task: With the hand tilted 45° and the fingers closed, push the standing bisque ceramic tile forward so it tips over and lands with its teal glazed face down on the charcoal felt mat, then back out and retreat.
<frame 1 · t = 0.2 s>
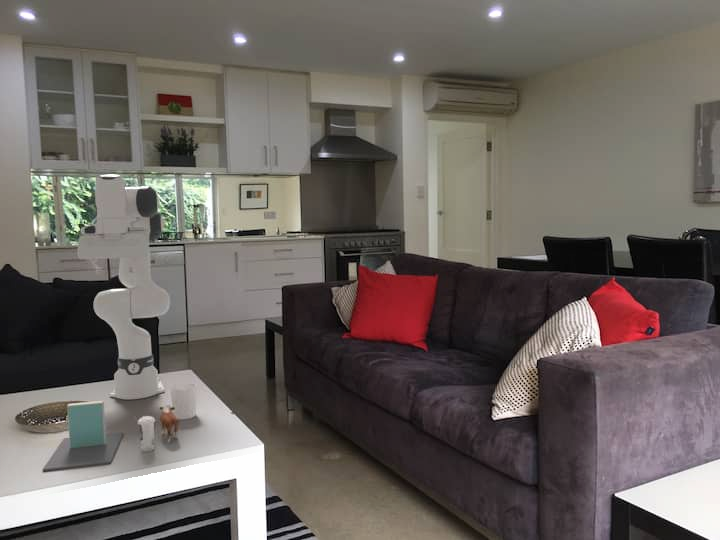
hand: (115, 273, 178), 47 cm above the table, tool pointing down, fingers open, 8 cm apart
tile: (88, 445, 162), point 1 cm above the table, touching mat
mat: (86, 451, 159), on the table
white cup: (185, 416, 186), on the table
milkshake: (146, 450, 159), on the table
bull figurine: (169, 436, 169), on the table
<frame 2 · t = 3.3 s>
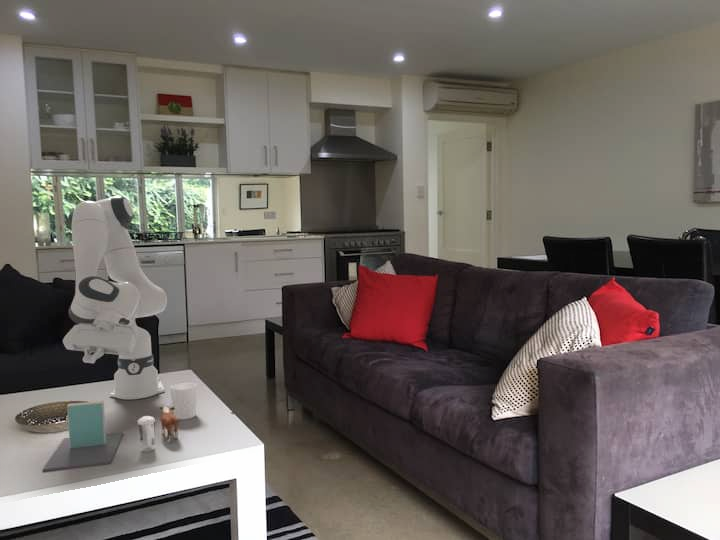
hand: (87, 361, 165), 23 cm above the table, tool tilted 55°, fingers closed
nothing on the table moved.
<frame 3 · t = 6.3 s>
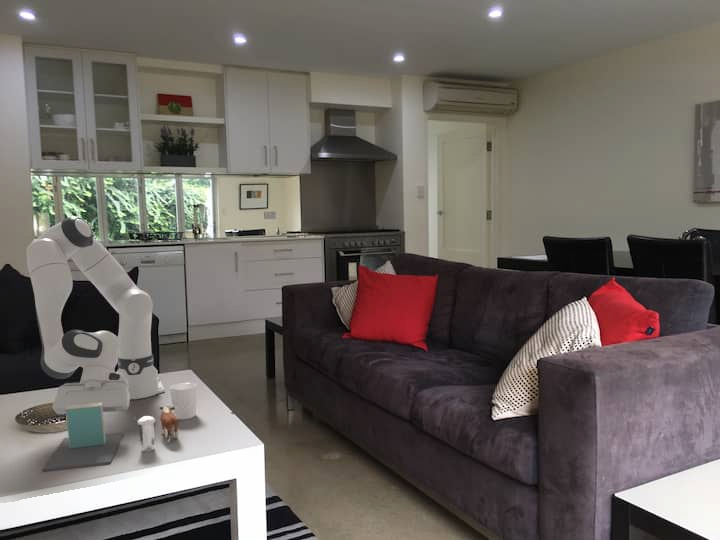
hand: (86, 425, 162), 6 cm above the table, tool tilted 45°, fingers closed
tile: (88, 444, 162), point 1 cm above the table, tilted 10°, touching mat
everything else where it was.
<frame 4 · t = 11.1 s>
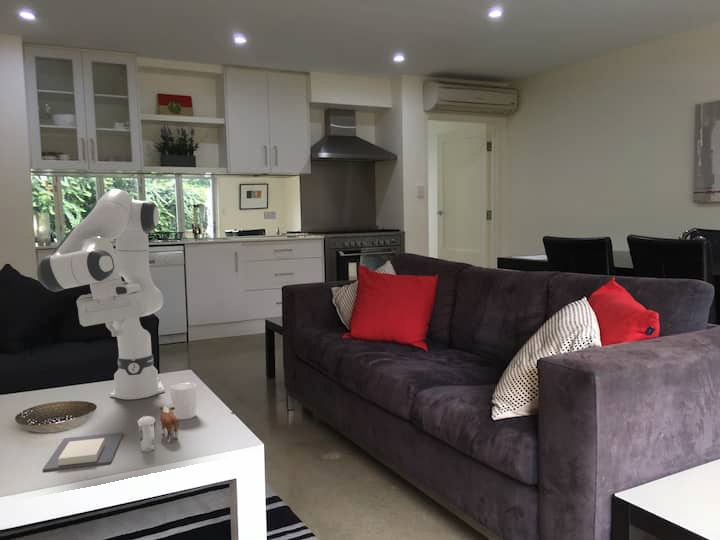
hand: (118, 335, 173), 29 cm above the table, tool pointing down, fingers closed
tile: (87, 442, 160), point 2 cm above the table, tilted 90°, touching mat
everything else where it was.
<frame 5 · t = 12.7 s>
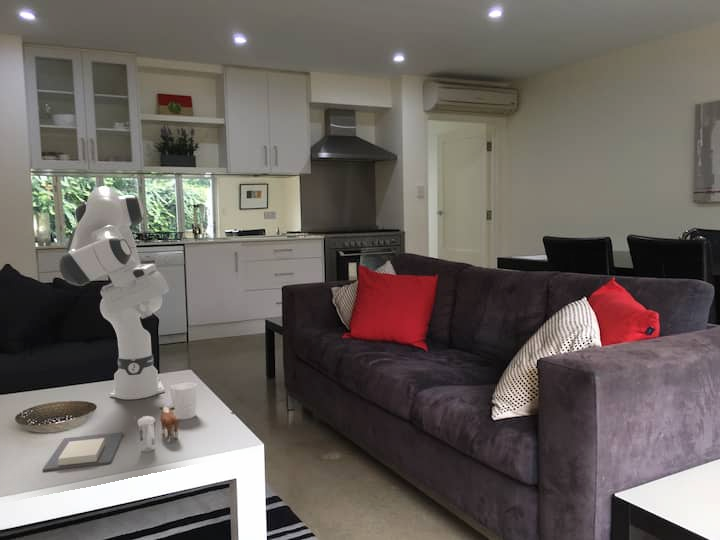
hand: (147, 316, 180), 33 cm above the table, tool tilted 25°, fingers closed
nothing on the table moved.
at the end: tile tilted 90°; tile inside the target area (4.3 cm from its centre), point 1.7 cm above the table; tile touching mat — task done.
